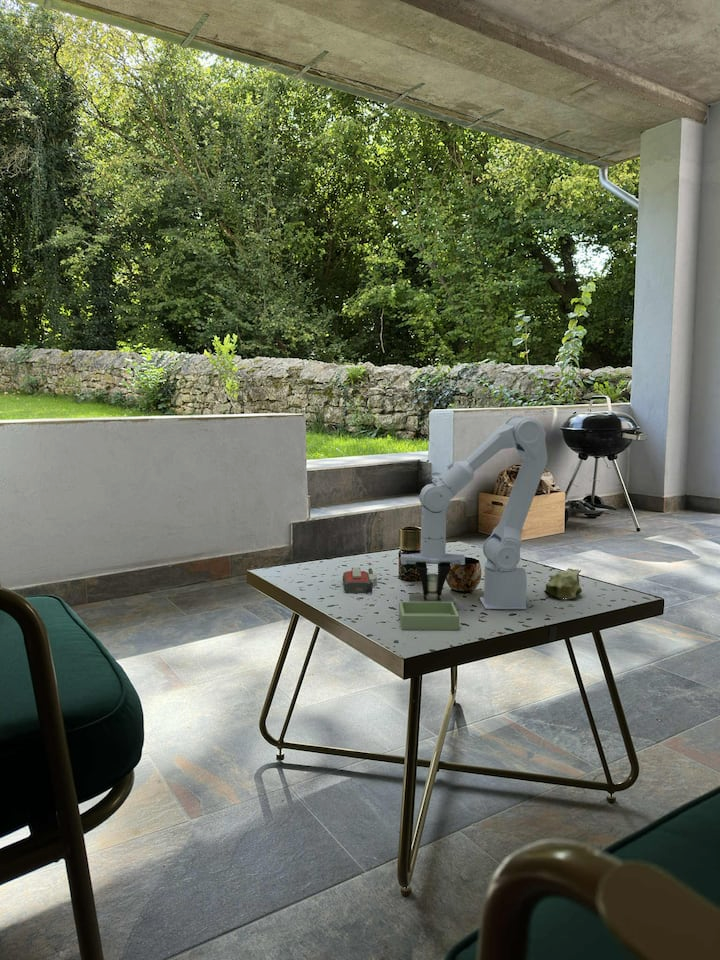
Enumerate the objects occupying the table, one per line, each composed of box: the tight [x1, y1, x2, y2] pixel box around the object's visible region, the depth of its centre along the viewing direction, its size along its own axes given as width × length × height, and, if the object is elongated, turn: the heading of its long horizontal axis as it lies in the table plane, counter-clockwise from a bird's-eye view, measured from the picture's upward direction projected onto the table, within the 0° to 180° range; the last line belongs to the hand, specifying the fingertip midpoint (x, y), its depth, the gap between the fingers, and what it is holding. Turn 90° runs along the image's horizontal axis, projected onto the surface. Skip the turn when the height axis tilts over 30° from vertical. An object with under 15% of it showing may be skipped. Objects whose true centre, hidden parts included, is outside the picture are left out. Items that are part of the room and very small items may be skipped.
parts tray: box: [398, 601, 460, 631], centre depth 156 cm, size 12×10×3 cm
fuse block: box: [408, 593, 457, 609], centre depth 167 cm, size 10×7×2 cm
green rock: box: [543, 568, 583, 600], centre depth 176 cm, size 9×9×8 cm
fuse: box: [426, 573, 438, 601], centre depth 167 cm, size 3×3×8 cm
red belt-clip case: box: [342, 567, 378, 594], centre depth 186 cm, size 9×4×20 cm
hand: (432, 594), depth 167 cm, fingers closed on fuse, 3 cm apart
